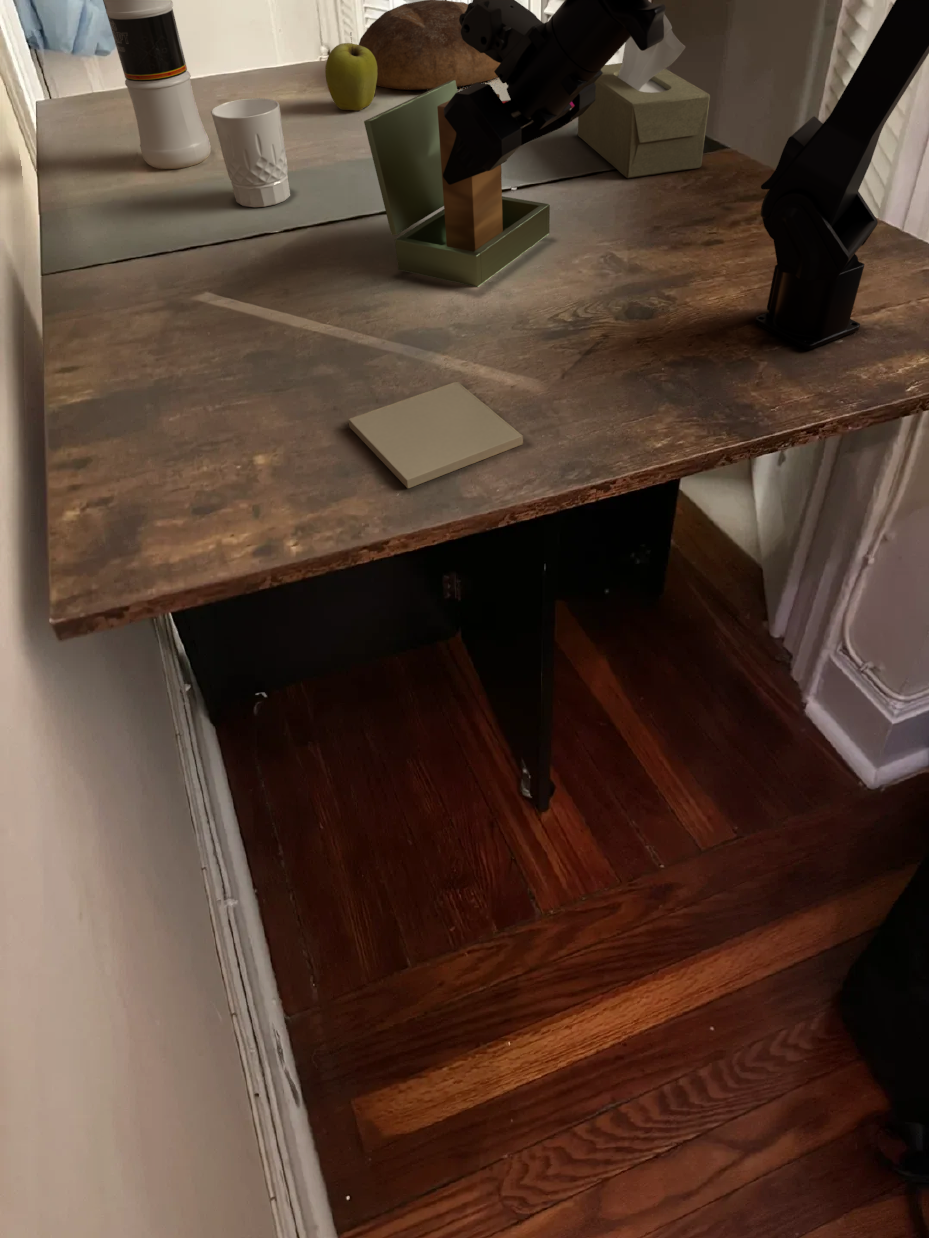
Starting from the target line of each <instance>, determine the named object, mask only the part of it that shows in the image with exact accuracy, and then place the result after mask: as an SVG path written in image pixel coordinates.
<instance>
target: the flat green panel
mask: <svg viewBox="0 0 929 1238" xmlns="http://www.w3.org/2000/svg"><path fill="white" fill-rule="evenodd" d="M457 92H458V87H457V86H456V81H455V80H452V81H449V82H446V83H444V84H442V85H440V86H438V87H436V88H434V89H431V90H426V91H425V92H423V93H420V94H419V95H417V96H415V97H412V98H410V99H408V100H406V101H404V102H402V103H400V104H398V105H395V106H394V107H391V108H389V109H387V110H385V111H383V112H381V113H378V114H377V115H374V116H372V117H370V118H368V119H366V120H364V121H363V124H364V128H365V132H366V136H367V141H368V144H369V148H370V153H371V156H372V157H371V158H372V160H373V164H374V170H375V173H376V177H377V181H378V185H379V190H380V194H381V197H382V203H383V206H384V210H385V214H386V218H387V222H388V227H389V230H390V231H389V232H390V235H391V236H398V235H400V233H403V232H404V231H406V230H407V229H409V228H410V227H412V226H414V225H415V224H417V223H419V222H421V221H422V220H423V219H425V218H427V217H428V216H430V215H431V214H433V213H435V212H437V211H438V210H440V209H441V208H444V198H443V183H442V169H441V154H440V139H439V125H438V110H437V106H439V105H441V104H443V103H445V102H447V101H449V100H451V99H452V97H453V96H454V95H455V93H457Z"/></svg>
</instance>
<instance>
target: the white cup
mask: <svg viewBox="0 0 929 1238" xmlns="http://www.w3.org/2000/svg"><path fill="white" fill-rule="evenodd" d="M210 114H211V118H212V122H213V126H214V129H215V133H216V137H217V141H218V143H219V147H220V151H221V155H222V158H223V162H224V165H225V169H226V172H227V176H228V178H229V180H230V181H231V182H230V183H231V187H232V190H233V194H234V198H235V201H236V203H237V204H239V205H240V206H242V207H248V208H265V207H270V206H275V205H278V204H281V203H283V202H285V201H286V200H288V199H289V198H290V197H291V190H290V189H291V188H290V183H289V174H288V171H289V167H288V157H287V151H286V143H285V137H284V136H285V135H284V129H283V128H284V127H283V122H282V114H281V106H280V103H279V102H278V101H277V100H274V99H272V98H265V97H253V98H252V97H250V98H249V97H248V98H241V99H236V100H235V99H234V100H229V101H226V102H223V103H220V104H218V105H216V106H214V107H213V108H212V109H211V111H210Z"/></svg>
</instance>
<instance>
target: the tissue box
mask: <svg viewBox="0 0 929 1238" xmlns="http://www.w3.org/2000/svg"><path fill="white" fill-rule="evenodd" d="M663 22H664V38H663V40H662V41H661V42H659V43H657V44H655V45H653V46H652V47H650V48H648V49H646V50H644V51H641V50H640V49H639V48H638V46H637V45H636V43H635V42H634V40H633V39H632V37H630V38H629V39H628V40H627V41H626V42H625V43H624V48H623V55H622V61H621V62H617V63H612V64H611V63H610V64H605V65H604V67H603V68H602V69H601V71H602V72H603V74H602V75H601V76H600V77H599V78H598V79H597V80H596V81H595V82H594V83H595V85H596V94H595V101H594V102H593V103H592V104H591V106H590V107H589V108H588V109H587V110H586V111H585V112H584V113H583V114H582V115H580V116H578V117H577V118H578V119H577V137H578V138H580V139H582V140H583V141H584V142H585V143H586V144H587V145H588V146H589V147H590V148H592V149H593V150H594V151H595V152H596V153H597V154H599V155H600V156H601V158H603V159H604V160H605V161H607V162H608V163H609V164H610V165H611V166H612V167H614V168H615V170H616V171H618V172H619V173H620V174H621V175H623V176H624V177H625V178H626V179H627V180H628V179H635V178H641V177H647V176H655V175H663V174H667V173H668V174H669V173H675V172H676V173H677V172H683V171H691V170H697V169H700V168H701V167H702V162H703V156H704V155H703V154H704V147H705V140H706V131H707V123H708V117H709V116H708V115H709V107H710V99H711V95H710V94H709V93H708V92H706V91H705V90H703V89H701V88H700V87H697V86H696V85H694V84H693V83H691V82H689V81H688V80H686V79H684V78H682V77H680V76H679V75H678V74H676V73H674V72H671V71H670V70H668V67H670V66H671V65H673V64H674V63H675V62H676V61H677V59H678V58H679V57H680V56H681V54H682V53H683V52H684V51H685V49H686V48H687V46H686V45H684V44H683V43H682V42H681V41H680V40H679V38H678V37H677V36H676V34H675V33H674V32H673V26H672V24H671V22H670V20H669V18H668V17H667V16H666V13H664V17H663Z"/></svg>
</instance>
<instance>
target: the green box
mask: <svg viewBox="0 0 929 1238" xmlns="http://www.w3.org/2000/svg"><path fill="white" fill-rule="evenodd" d="M550 207H551V205H550V203H545V202H540V201H534V200H527V199H521V198H516V197H509V196H503V195H502V222H503V232H501V233H500V234H498V235H497V236H495V237H494V238H493V239H491V240H490V241H488V242H487V243H485V244H484V245H483V246H481V247H480V248H478V249H477V250H475V251H474V252H472V251H467V250H462V249H457V248H452V247H447V242H446V228H445V213H444V208H443V209H441V210H440V211H438V212H437V213H435V214H433V215H431V216H430V217H429V218H427V219H425V220H423V221H421V223H419V224H417V225H415V226H414V227H413V228H411V229H409V230H408V231H406V232H404V233H403V234H401V235H400V236H397V238H395V239H394V246H395V251H396V252H395V253H396V254H395V255H396V262H397V269H398V271H402V272H407V273H411V274H416V275H420V276H425V277H429V278H434V279H438V280H443V281H448V282H452V283H457V284H462V285H466V286H470V287H475V288H479V287H480V286H481V285H483V284H484V283H485V282H487V281H488V280H489V279H491V278H492V277H493V276H495V275H496V274H497V273H499V272H500V271H501V270H503V269H504V268H505V267H507V266H508V265H510V264H511V263H513V262H514V261H515V260H516V259H518V258H519V257H520V256H522V255H523V254H524V253H526V252H527V251H529V249H531V248H533V247H534V246H535V245H537V244H538V243H539V242H541V241H542V240H543V239H544V238H546V237H547V236H549V235H550V218H551V217H550V216H551V215H550V213H551V211H550V210H551V208H550Z"/></svg>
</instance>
